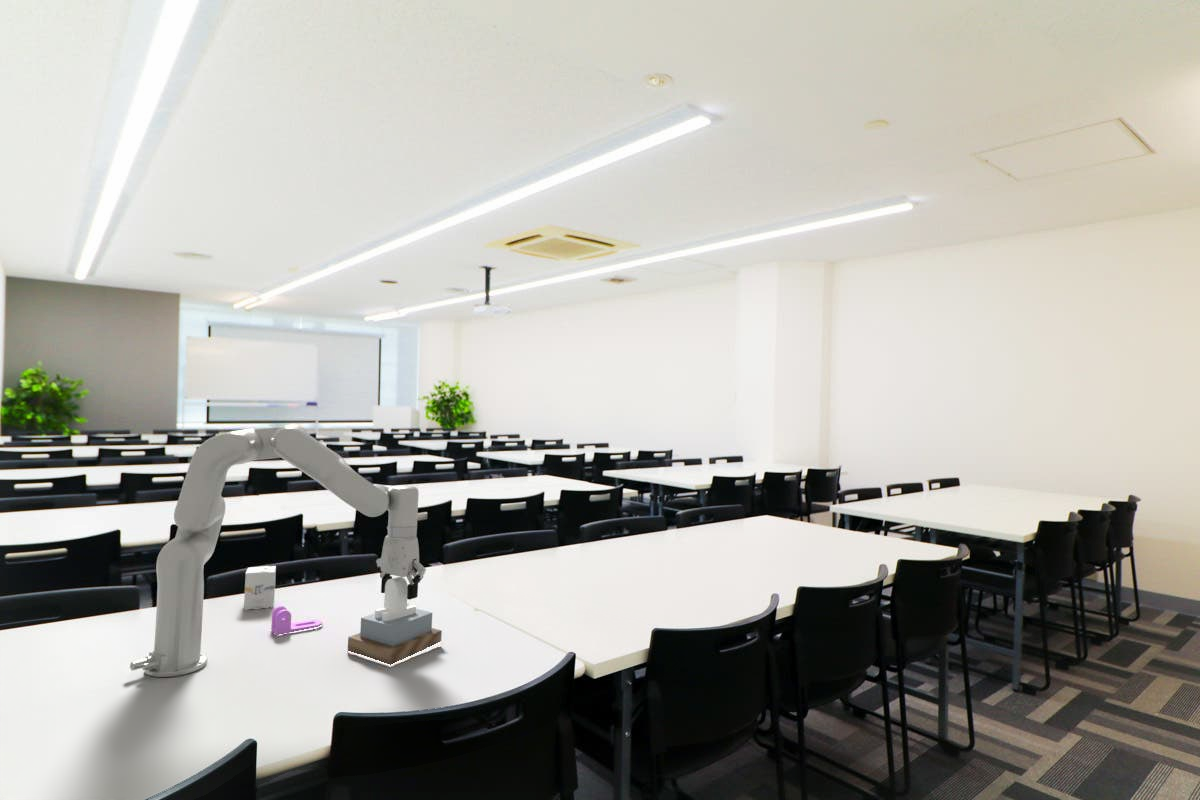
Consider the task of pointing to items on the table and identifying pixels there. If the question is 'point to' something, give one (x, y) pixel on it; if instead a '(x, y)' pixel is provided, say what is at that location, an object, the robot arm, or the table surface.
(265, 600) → the ink box
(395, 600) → the white t-shaped block
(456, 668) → the table surface
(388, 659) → the bottom block
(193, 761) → the table surface
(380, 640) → the top block
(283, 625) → the bracket
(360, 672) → the table surface
